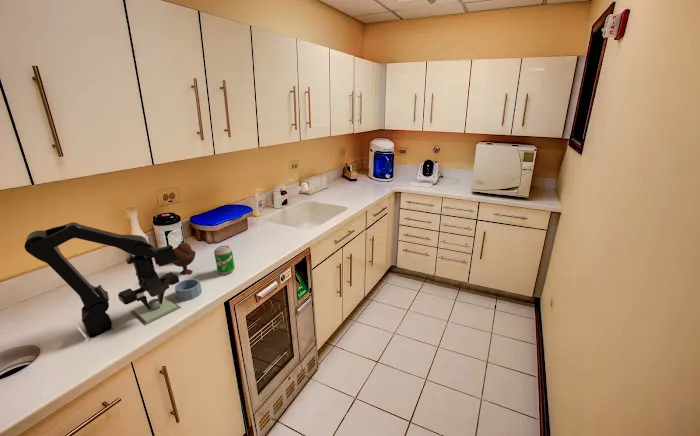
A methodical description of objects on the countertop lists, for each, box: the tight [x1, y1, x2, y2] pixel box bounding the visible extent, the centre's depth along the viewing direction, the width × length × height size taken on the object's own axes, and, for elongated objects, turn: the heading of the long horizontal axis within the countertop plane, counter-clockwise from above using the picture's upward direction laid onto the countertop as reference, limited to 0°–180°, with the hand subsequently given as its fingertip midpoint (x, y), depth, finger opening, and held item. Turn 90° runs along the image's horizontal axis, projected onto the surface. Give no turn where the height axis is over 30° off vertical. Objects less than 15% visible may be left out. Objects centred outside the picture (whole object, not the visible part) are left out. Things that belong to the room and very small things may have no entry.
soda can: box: [213, 244, 235, 276], centre depth 147 cm, size 8×8×12 cm
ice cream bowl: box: [171, 242, 196, 276], centre depth 146 cm, size 11×11×15 cm
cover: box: [133, 296, 178, 323], centre depth 121 cm, size 11×11×4 cm
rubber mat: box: [129, 295, 182, 326], centre depth 122 cm, size 13×13×1 cm
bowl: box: [174, 278, 202, 302], centre depth 131 cm, size 9×9×5 cm
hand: (155, 306), depth 121 cm, fingers open, 4 cm apart
